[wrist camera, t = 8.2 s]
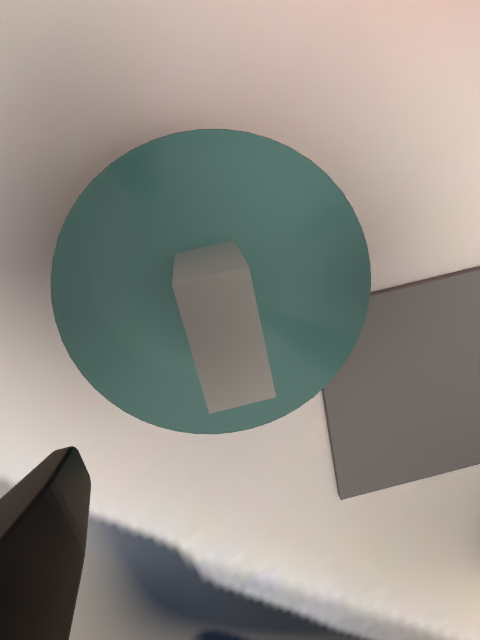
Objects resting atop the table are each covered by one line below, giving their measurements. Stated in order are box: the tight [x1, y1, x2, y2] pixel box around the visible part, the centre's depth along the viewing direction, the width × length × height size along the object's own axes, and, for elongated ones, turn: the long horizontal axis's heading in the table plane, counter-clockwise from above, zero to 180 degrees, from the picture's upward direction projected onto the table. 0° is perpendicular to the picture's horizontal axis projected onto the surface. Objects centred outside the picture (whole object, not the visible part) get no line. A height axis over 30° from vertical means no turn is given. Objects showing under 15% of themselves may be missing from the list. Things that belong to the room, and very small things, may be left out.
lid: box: [51, 129, 371, 434], centre depth 14 cm, size 11×11×4 cm
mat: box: [322, 267, 480, 500], centre depth 24 cm, size 13×13×1 cm
